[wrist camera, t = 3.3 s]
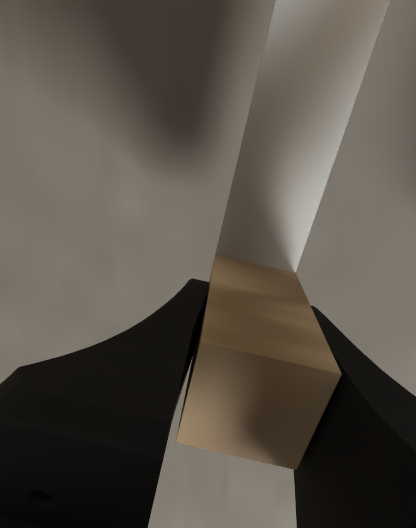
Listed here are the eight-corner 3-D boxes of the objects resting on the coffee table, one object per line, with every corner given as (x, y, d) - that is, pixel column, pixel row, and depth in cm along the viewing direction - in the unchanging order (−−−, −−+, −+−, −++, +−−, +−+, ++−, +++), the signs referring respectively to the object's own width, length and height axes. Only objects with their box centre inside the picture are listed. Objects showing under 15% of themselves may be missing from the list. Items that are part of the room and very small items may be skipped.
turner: (407, -72, 8) (752, -498, 3) (270, 331, 13) (296, 470, 8) (298, -97, 8) (424, -575, 3) (201, 315, 13) (175, 442, 8)
